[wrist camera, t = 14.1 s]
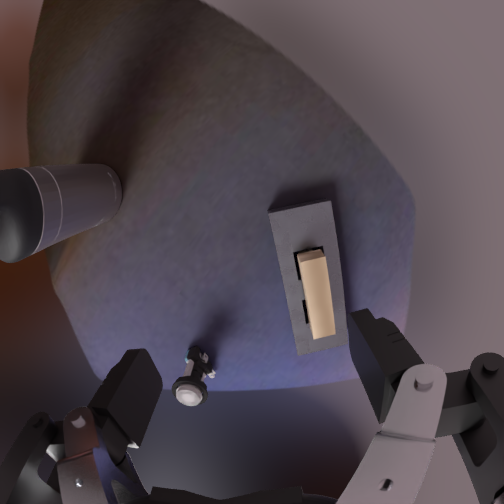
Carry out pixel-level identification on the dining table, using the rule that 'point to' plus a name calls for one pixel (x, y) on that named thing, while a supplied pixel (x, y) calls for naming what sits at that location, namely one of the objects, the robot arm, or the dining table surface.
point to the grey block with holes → (288, 241)
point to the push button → (193, 379)
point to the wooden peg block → (317, 292)
